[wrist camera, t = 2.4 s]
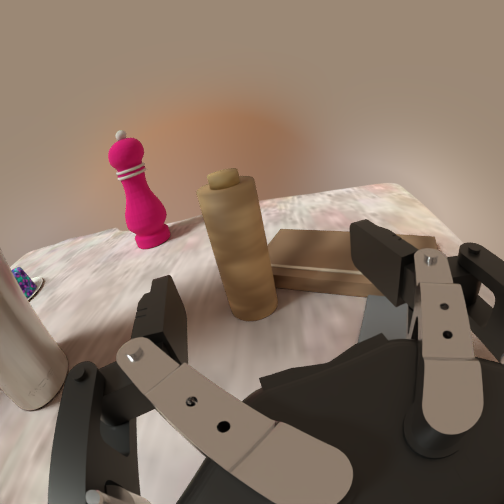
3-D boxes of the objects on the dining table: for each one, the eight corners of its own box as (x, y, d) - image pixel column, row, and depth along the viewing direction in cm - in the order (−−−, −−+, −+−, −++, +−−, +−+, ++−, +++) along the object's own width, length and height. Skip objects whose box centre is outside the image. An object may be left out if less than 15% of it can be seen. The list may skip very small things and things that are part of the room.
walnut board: (249, 284, 30) (246, 271, 29) (282, 239, 38) (280, 228, 37) (442, 303, 21) (445, 288, 20) (433, 248, 28) (434, 236, 27)
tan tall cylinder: (222, 316, 26) (181, 185, 20) (244, 287, 30) (214, 167, 24) (266, 324, 24) (233, 179, 18) (284, 293, 28) (261, 162, 21)
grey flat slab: (357, 345, 20) (357, 343, 20) (367, 297, 24) (367, 294, 24) (440, 352, 16) (441, 350, 16) (437, 302, 21) (438, 300, 21)
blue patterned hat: (19, 316, 33) (4, 291, 31) (-6, 315, 35) (-19, 293, 32) (54, 277, 43) (42, 254, 41) (25, 281, 45) (14, 261, 43)
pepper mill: (171, 227, 51) (141, 124, 41) (175, 240, 45) (140, 121, 35) (135, 240, 49) (102, 138, 39) (135, 255, 43) (95, 138, 33)
